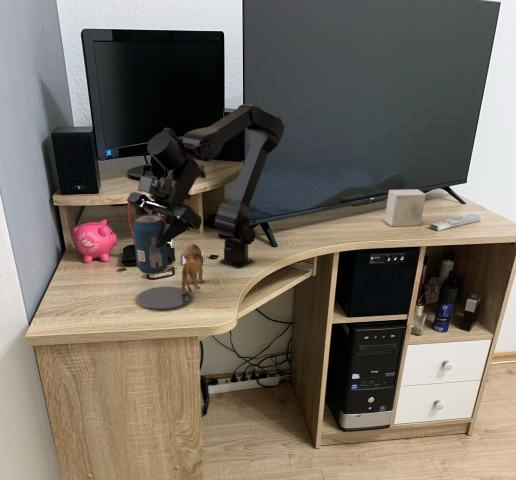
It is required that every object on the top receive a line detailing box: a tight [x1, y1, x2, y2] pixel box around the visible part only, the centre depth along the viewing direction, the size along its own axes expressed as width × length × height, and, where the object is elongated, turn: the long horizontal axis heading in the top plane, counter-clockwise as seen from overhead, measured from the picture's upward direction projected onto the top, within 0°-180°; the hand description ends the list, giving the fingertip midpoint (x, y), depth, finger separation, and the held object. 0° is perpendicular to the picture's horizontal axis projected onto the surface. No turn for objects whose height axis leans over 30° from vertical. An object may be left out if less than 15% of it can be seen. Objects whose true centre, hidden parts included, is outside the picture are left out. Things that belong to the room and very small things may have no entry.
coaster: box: [137, 285, 191, 312], centre depth 125 cm, size 12×12×1 cm
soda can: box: [132, 213, 169, 275], centre depth 120 cm, size 7×7×12 cm
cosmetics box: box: [383, 188, 427, 227], centre depth 177 cm, size 10×6×10 cm, turn 101°
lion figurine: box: [180, 243, 205, 294], centre depth 129 cm, size 15×5×9 cm, turn 4°
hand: (145, 243), depth 119 cm, fingers closed on soda can, 7 cm apart
